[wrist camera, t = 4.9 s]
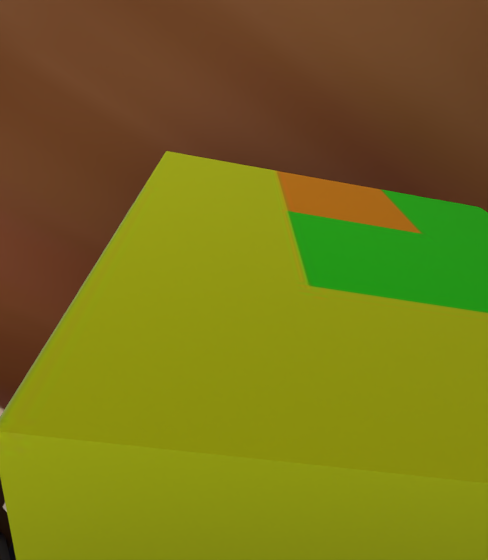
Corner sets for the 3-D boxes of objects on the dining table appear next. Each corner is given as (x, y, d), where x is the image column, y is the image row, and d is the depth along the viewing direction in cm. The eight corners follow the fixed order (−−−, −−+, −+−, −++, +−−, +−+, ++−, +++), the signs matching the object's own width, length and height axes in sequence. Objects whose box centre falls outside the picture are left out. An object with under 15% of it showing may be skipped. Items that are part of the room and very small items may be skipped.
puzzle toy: (145, 392, 17) (52, 751, 9) (166, 150, 12) (-8, 431, 4) (374, 419, 18) (497, 764, 10) (480, 207, 13) (936, 530, 5)
